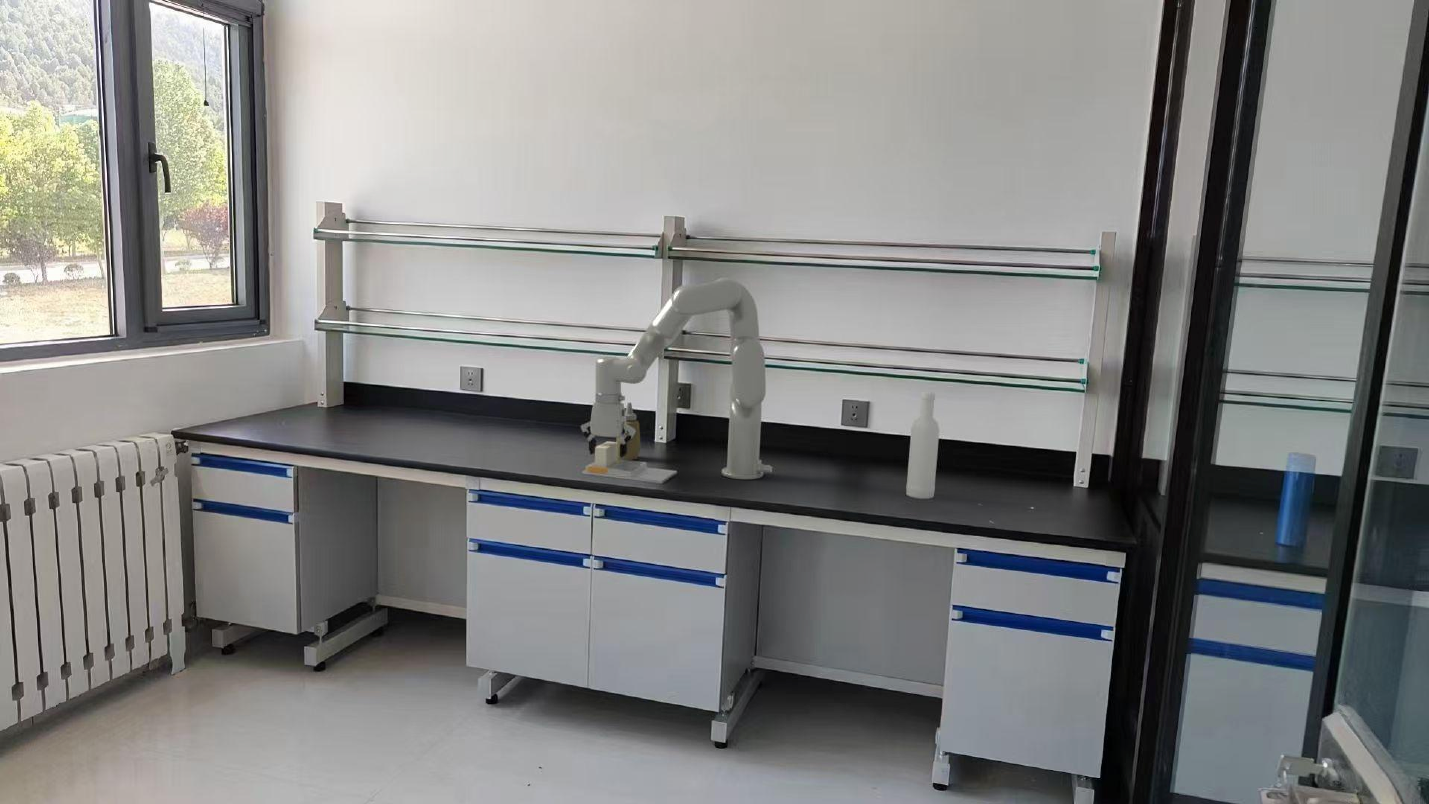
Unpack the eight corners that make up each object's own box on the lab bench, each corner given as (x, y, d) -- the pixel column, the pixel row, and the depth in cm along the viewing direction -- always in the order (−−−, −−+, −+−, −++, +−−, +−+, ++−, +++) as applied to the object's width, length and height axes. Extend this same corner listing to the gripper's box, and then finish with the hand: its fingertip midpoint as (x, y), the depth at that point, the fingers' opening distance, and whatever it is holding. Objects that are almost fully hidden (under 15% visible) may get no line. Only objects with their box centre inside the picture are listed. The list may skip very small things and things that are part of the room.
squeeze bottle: (636, 462, 300) (638, 405, 297) (611, 460, 301) (613, 403, 298) (643, 456, 308) (645, 401, 305) (619, 454, 309) (620, 399, 306)
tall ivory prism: (617, 465, 291) (617, 442, 290) (605, 471, 283) (606, 448, 281) (606, 463, 292) (607, 441, 291) (594, 470, 284) (595, 447, 282)
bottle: (916, 500, 270) (924, 395, 265) (900, 492, 277) (908, 390, 272) (939, 498, 273) (948, 394, 268) (923, 491, 280) (931, 390, 275)
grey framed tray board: (676, 473, 288) (676, 465, 288) (661, 483, 276) (662, 475, 275) (600, 464, 295) (600, 456, 295) (582, 473, 283) (582, 465, 282)
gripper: (640, 398, 285) (639, 454, 288) (586, 394, 290) (586, 449, 293) (630, 402, 278) (629, 460, 281) (576, 398, 283) (576, 454, 286)
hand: (607, 454), depth 287 cm, fingers open, 9 cm apart
